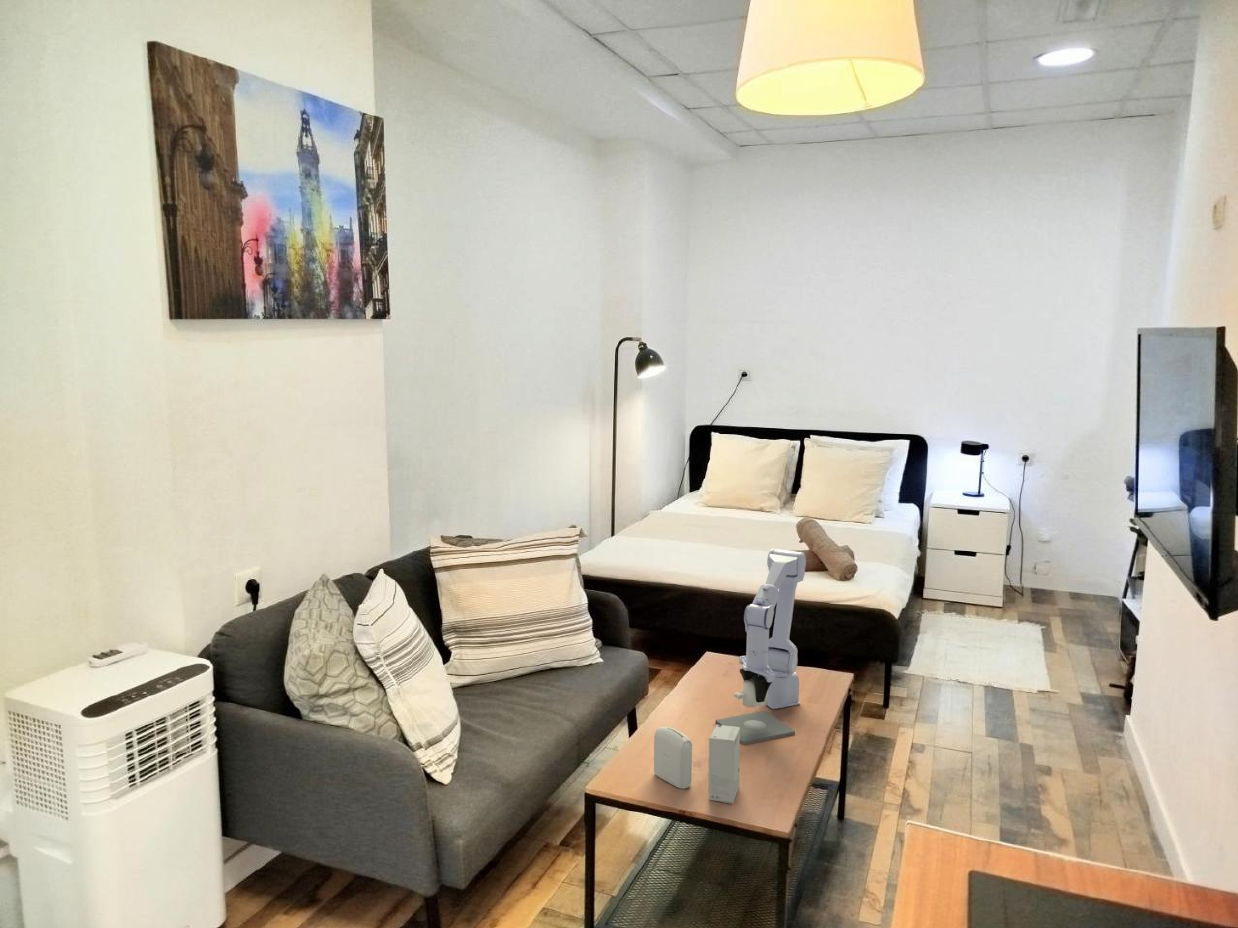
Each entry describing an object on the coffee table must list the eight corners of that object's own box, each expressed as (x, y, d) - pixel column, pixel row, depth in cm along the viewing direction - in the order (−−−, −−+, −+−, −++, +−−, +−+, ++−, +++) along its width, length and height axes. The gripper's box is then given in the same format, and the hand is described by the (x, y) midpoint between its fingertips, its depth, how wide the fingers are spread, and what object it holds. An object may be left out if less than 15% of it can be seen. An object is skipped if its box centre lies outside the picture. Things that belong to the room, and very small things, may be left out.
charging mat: (765, 713, 240) (765, 709, 240) (795, 734, 228) (795, 730, 227) (715, 722, 234) (715, 719, 234) (743, 744, 221) (743, 741, 221)
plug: (762, 698, 233) (762, 677, 232) (770, 704, 229) (771, 682, 228) (732, 703, 229) (732, 682, 228) (740, 709, 226) (740, 687, 225)
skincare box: (733, 804, 192) (735, 741, 190) (706, 800, 194) (708, 737, 192) (739, 786, 200) (741, 725, 198) (714, 782, 202) (715, 722, 200)
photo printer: (651, 773, 206) (651, 724, 204) (664, 768, 208) (665, 720, 207) (680, 791, 198) (681, 740, 196) (694, 785, 200) (695, 735, 199)
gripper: (730, 642, 233) (728, 690, 235) (759, 660, 219) (757, 711, 221) (752, 638, 235) (750, 686, 237) (782, 656, 222) (780, 706, 224)
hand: (755, 698), depth 230 cm, fingers closed on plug, 4 cm apart
